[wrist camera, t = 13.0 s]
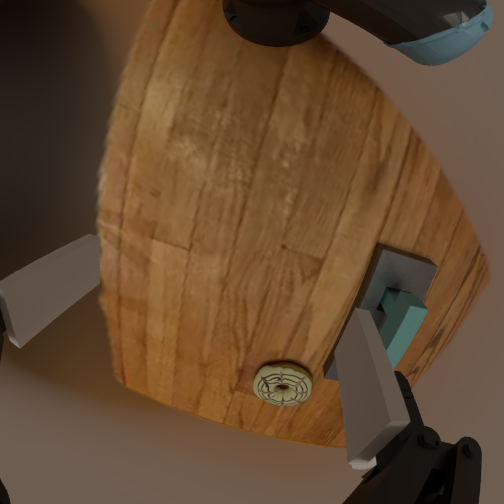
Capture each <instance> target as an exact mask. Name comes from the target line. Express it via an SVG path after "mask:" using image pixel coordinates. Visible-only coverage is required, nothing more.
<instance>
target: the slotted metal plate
mask: <svg viewBox="0 0 504 504" xmlns="http://www.w3.org/2000/svg"><path fill="white" fill-rule="evenodd" d="M437 268H438V266H436V265H435V264H434V263H433V262H432V261H431V260H429V259H426V258H423V257H420V256H417V255H414V254H411V253H408V252H405V251H402V250H399V249H396V248H393V247H389V246H386V245H383V244H380V243H377V245H376V247H375V250H374V253H373V256H372V258H371V261H370V264H369V266H368V269H367V271H366V274H365V277H364V279H363V282H362V284H361V286H360V289H359V291H358V294H357V296H356V298H355V301H354V303H353V305H352V308H351V310H350V312H349V314H348V317H347V319H346V321H345V323H344V325H343V328H342V330H341V332H340V334H339V336H338V338H337V340H336V342H335V344H334V346H333V348H332V350H331V352H330V354H329V356H328V358H327V360H326V362H325V364H324V366H323V371H324V378H326V379H332V380H338V374H337V367H336V361H335V354H334V351H335V349H336V347H337V345H338V343H339V341H340V339H341V337H342V335H343V333H344V331H345V329H346V326H347V324H348V322H349V320H350V318H351V316H352V313H353V311H354V309H355V307H356V308H360V309H364V310H368V311H370V314H371V316H372V318H373V321H374V323H375V325H376V328H377V330H378V332H379V334H380V332H381V330H382V328H383V326H384V324H385V322H386V320H387V318H388V316H387V314H386V313H385V311H384V309H383V307H382V305H381V303H380V300H381V298H382V296H383V293H384V291H385V289H386V287H391V288H395V289H398V290H402V292H406V293H410V294H414V295H417V296H418V297H419V298H420V300H421V301H422V302H423V300H424V297H425V295H426V293H427V291H428V289H429V287H430V284H431V282H432V280H433V278H434V275H435V273H436V271H437Z"/></svg>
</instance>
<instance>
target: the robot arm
mask: <svg viewBox="0 0 504 504" xmlns="http://www.w3.org/2000/svg"><path fill="white" fill-rule="evenodd" d="M330 11H331V12H333V13H335V14H337V15H339V16H341V17H343V18H344V19H347V20H348V21H350V22H352V23H354V24H355V25H357V26H359V27H361V28H363V29H364V30H366V31H368V32H369V33H371V34H373V35H374V36H376V37H377V38H379V39H380V40H382V41H383V42H384V44H386V45H387V46H389V47H392V48H395V49H397V50H398V51H400V52H401V53H403V54H405V55H406V56H407V57H409V58H410V59H412V60H413V61H415V62H417V63H419V64H421V65H428V66H430V65H432V66H435V65H440V64H444V63H447V62H449V61H451V60H453V59H455V58H457V57H459V56H461V55H462V54H464V53H465V52H467V51H468V50H470V49H471V48H472V47H473V46H475V45H476V44H477V43H478V42H479V41H480V40H481V39H482V38H483V37H484V32H486V31H487V30H489V29H490V27H491V25H492V24H493V21H494V13H493V10H492V9H491V7H490V4H489V3H488V2H487V1H486V0H223V12H224V15H225V17H226V19H227V21H228V23H229V25H230V26H231V28H232V29H233V30H234V31H235V32H236V33H237V34H239V35H240V36H241V37H243V38H245V39H247V40H249V41H251V42H254V43H257V44H261V45H266V46H278V47H279V46H291V45H296V44H300V43H303V42H305V41H308V40H310V39H312V38H313V37H315V36H316V35H318V34H319V33H320V32H321V31H322V30H323V29H324V27H325V26H326V24H327V22H328V19H329V15H330ZM98 284H100V237H97V236H94V235H91V234H88V235H86V236H84V237H82V238H80V239H78V240H76V241H74V242H72V243H70V244H68V245H65V246H63V247H62V248H60V249H58V250H56V251H54V252H52V253H50V254H48V255H46V256H44V257H42V258H40V259H38V260H36V261H35V262H33V263H31V264H29V265H27V266H25V267H23V268H21V269H19V270H18V271H17V272H14V273H12V274H11V275H9V276H7V277H5V278H4V279H2V280H1V281H0V360H1V354H2V348H3V342H4V336H3V332H4V331H5V330H7V333H8V336H9V339H10V341H11V342H12V343H14V344H15V345H16V346H17V347H19V348H21V347H22V346H23V345H25V344H26V343H27V342H28V341H29V340H30V339H31V338H33V337H34V336H35V335H36V334H37V333H38V332H40V331H41V330H42V329H43V328H44V327H46V326H47V325H48V324H49V323H50V322H52V321H53V320H54V319H55V318H56V317H58V316H59V315H60V314H61V313H62V312H64V311H65V310H66V309H68V308H69V307H70V306H71V305H73V304H74V303H75V302H76V301H78V300H79V299H80V298H82V297H83V296H84V295H85V294H87V293H88V292H89V291H91V290H92V289H93V288H95V287H96V286H97V285H98ZM334 354H335V361H336V367H337V374H338V381H339V388H340V395H341V403H342V411H343V420H344V429H345V438H346V449H347V461H348V464H367V463H368V462H370V461H371V460H372V459H373V458H374V457H376V464H377V465H375V466H374V467H373V468H372V469H371V470H370V471H368V472H367V473H366V474H364V475H363V476H362V478H364V479H363V480H362V482H361V483H360V484H359V485H358V486H357V488H356V489H355V490H354V491H353V492H352V494H351V495H350V496H349V497H348V498H347V499H346V500H345V502H343V503H342V504H478V503H479V494H480V483H481V460H482V453H481V448H480V446H479V444H478V442H476V440H474V439H472V438H471V437H463V438H461V439H460V440H459V441H458V442H457V443H456V444H455V445H454V444H450V443H445V442H441V440H440V437H439V435H438V434H437V432H436V431H434V430H433V429H432V428H430V427H427V426H424V424H423V421H422V418H421V416H420V413H419V409H418V407H417V404H416V402H415V399H414V396H413V393H412V392H411V388H410V385H409V383H408V380H407V379H406V378H405V377H404V375H403V374H402V373H401V372H400V371H393V368H392V365H391V363H390V360H389V358H388V355H387V352H386V350H385V347H384V345H383V342H382V340H381V337H380V335H379V332H378V330H377V328H376V325H375V323H374V321H373V318H372V316H371V314H370V311H368V310H364V309H360V308H356V307H355V309H354V311H353V313H352V316H351V318H350V320H349V322H348V324H347V326H346V329H345V331H344V333H343V335H342V337H341V339H340V341H339V343H338V345H337V347H336V349H335V351H334ZM443 488H444V489H443ZM0 504H11V503H10V499H9V495H8V493H7V490H6V488H5V486H4V485H3V483H2V482H1V479H0Z"/></svg>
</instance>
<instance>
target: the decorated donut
mask: <svg viewBox="0 0 504 504" xmlns="http://www.w3.org/2000/svg"><path fill="white" fill-rule="evenodd" d="M283 384H285V385H283ZM253 390H254V393H255V394H256V395H257V396H258V397H259V398H261V399H262V400H264V401H266V402H268V403H270V404H273V405H278V406H290V405H296V404H299V403H301V402H303V401H304V400H306V399H307V398H308V397H309V395H310V394H311V390H312V378H311V376H310V375H309V374H308V372H307V371H306V370H305V369H304V368H302V367H300V366H298V365H296V364H293V363H287V362H281V363H276V364H272V365H266V366H263V367H262V368H261V369H260V370H259V372H258V373H257V374H256V376H255V379H254V382H253Z"/></svg>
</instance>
